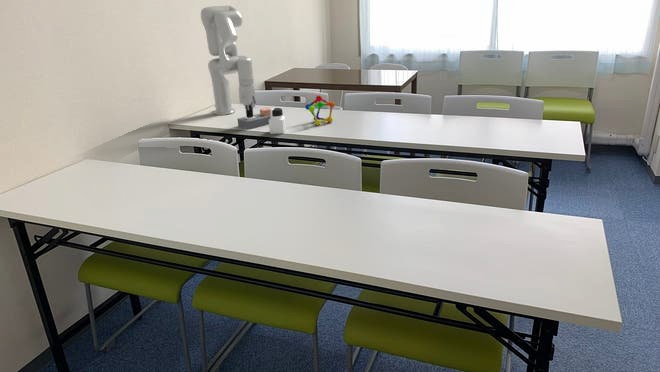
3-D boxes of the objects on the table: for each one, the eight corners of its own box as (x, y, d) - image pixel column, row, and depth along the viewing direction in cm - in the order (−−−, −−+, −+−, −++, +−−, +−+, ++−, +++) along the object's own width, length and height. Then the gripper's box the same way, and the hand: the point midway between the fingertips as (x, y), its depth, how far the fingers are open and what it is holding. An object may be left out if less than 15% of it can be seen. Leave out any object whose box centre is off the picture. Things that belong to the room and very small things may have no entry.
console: (238, 125, 261) (237, 118, 260) (269, 118, 273) (268, 111, 271) (248, 129, 254) (247, 121, 253) (279, 121, 266) (278, 114, 264)
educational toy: (319, 119, 270) (320, 92, 265) (336, 123, 261) (337, 95, 256) (298, 123, 259) (298, 94, 254) (315, 127, 251) (315, 98, 246)
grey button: (245, 124, 261) (244, 117, 259) (252, 123, 263) (251, 115, 262) (249, 126, 257) (248, 118, 256) (256, 124, 260) (256, 117, 259)
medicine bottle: (286, 129, 250) (284, 106, 246) (283, 133, 244) (281, 110, 239) (272, 129, 251) (270, 107, 246) (269, 133, 244) (267, 110, 240)
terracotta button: (260, 116, 266) (259, 109, 264) (267, 115, 268) (266, 107, 267) (265, 118, 262) (264, 110, 261) (271, 116, 265) (271, 109, 263)
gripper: (232, 81, 255) (236, 115, 262) (247, 85, 244) (251, 120, 251) (245, 79, 259) (248, 113, 266) (260, 83, 249) (263, 117, 256)
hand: (250, 116), depth 259 cm, fingers closed
